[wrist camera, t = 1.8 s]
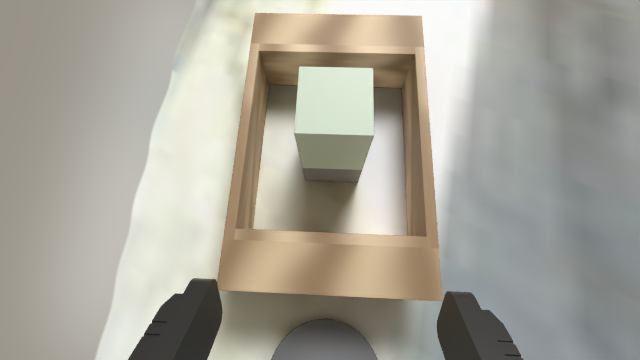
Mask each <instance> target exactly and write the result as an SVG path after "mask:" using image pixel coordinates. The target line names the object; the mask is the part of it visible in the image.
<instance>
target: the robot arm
mask: <svg viewBox="0 0 640 360" xmlns="http://www.w3.org/2000/svg"><path fill="white" fill-rule="evenodd" d="M221 319H222V305H221V300H220V295H219V290H218V285H217V281H216V280H215V279H198V278H194V279H192V280H191V281H190V283H189V284H188V286H187V288H186V290H185V291H184V293H183V294H174V295H173V296H172V297H171V298H170V299H169V300H167V301H166V302H165V303H164V304H163V305H162V306H161V307H160V309H159V311H158V312H157V314H156V315H155V317H154V319H153V320H152V324H150V325H149V327H148V328H147V330H146V332H145V333H144V336H143V337H142V338H141V340H140V341H139V343H138V344H137V346H136V348H135V349H134V351H133V352H132V354H131V356H130V357H129V359H128V360H207V358H208V356H209V353H210V351H211V348H212V345H213V343H214V340H215V338H216V335H217V332H218V330H219V327H220V324H221ZM437 333H438V338H439V342H440V345H441V348H442V351H443V354H444V357H445V360H523V359H522V358H521V354H520V353H519V351H518V349H517V347H516V346H515V344H513V340H512V338H511V337H510V335H509V333H508V331H507V330H506V328H505V326H504V324H503V323H502V322H501V321H500V320H499V319H498V318H497V317H496V316H495V315H494V314H493V313H492V312H491V311H490V310H481V308H480V306H479V304H478V302H477V300H476V298H475V297H474V295H473V294H472V293H470V292H450V291H448V292H446V294H445V297H444V300H443V303H442V307H441V310H440V313H439V317H438V320H437Z"/></svg>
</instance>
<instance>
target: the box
mask: <svg viewBox="0 0 640 360" xmlns="http://www.w3.org/2000/svg"><path fill="white" fill-rule="evenodd" d="M294 135H295V139H296V143H297V147H298V152H299V156H300V160H301V164H302V168H303V173H304V177H305V180H312V181H340V182H358V180H359V177H360V175H361V172H362V169H363V166H364V163H365V160H366V157H367V154H368V151H369V148H370V145H371V142H372V140H373V137H374V99H373V68H344V67H300V66H299V77H298V90H297V103H296V115H295V128H294Z"/></svg>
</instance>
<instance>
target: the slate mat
mask: <svg viewBox="0 0 640 360" xmlns="http://www.w3.org/2000/svg"><path fill="white" fill-rule="evenodd" d="M271 360H378V359H377V357H376V355H375V353H374V351H373V350H372V348H371V346H370V345H369V343H368V342H367V341H366V339H365V338H364V337H363V336H362V335H361V334H360V333H358V332H357V331H356V330H355V329H353V328H352V327H350V326H348V325H346V324H344V323H342V322H338V321H335V320H328V319H319V320H313V321H310V322H307V323H304V324H302V325H300V326H298V327H297V328H295V329H294V330H292V331H291V332H290V333H289V334H288V335H287V336H286V337H285V338H284V339H283V340H282V341H281V343H280V344H279V346H278V347H277V349H276V351H275V353H274V354H273V356H272V359H271Z"/></svg>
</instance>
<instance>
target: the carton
mask: <svg viewBox="0 0 640 360" xmlns="http://www.w3.org/2000/svg"><path fill="white" fill-rule="evenodd" d="M299 66H300V67H344V68H373V87H390V88H402V106H403V129H404V152H405V175H406V198H407V221H408V236H398V235H374V234H351V233H327V232H304V231H280V230H257V229H253V222H254V214H255V205H256V196H257V187H258V178H259V169H260V160H261V151H262V143H263V134H264V125H265V116H266V107H267V98H268V89H269V84H270V85H298V77H299ZM217 285H218V290H228V291H248V292H268V293H288V294H308V295H328V296H348V297H368V298H388V299H408V300H428V301H443V300H442V286H441V272H440V259H439V245H438V231H437V218H436V204H435V190H434V177H433V163H432V150H431V136H430V122H429V109H428V95H427V81H426V68H425V54H424V40H423V27H422V16H395V15H334V14H274V13H255V18H254V25H253V32H252V39H251V46H250V53H249V60H248V67H247V74H246V81H245V89H244V96H243V103H242V110H241V117H240V124H239V131H238V138H237V145H236V152H235V159H234V167H233V174H232V181H231V188H230V195H229V202H228V209H227V216H226V223H225V230H224V237H223V245H222V252H221V259H220V266H219V273H218V280H217Z"/></svg>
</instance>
